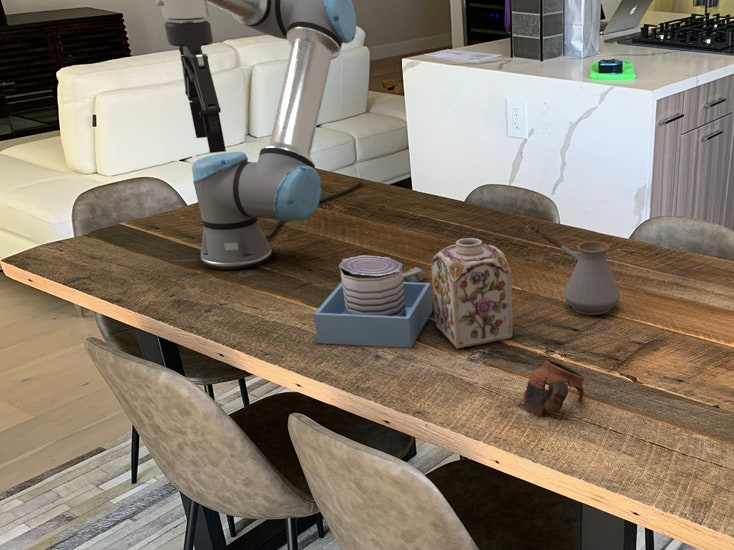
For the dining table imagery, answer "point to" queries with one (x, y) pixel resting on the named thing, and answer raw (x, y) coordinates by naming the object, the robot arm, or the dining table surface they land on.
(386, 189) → the dining table surface
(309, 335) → the dining table surface
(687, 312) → the dining table surface
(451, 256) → the decorative jar
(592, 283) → the coffee pot
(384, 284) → the can
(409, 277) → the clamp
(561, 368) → the pottery mug
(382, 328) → the tote
